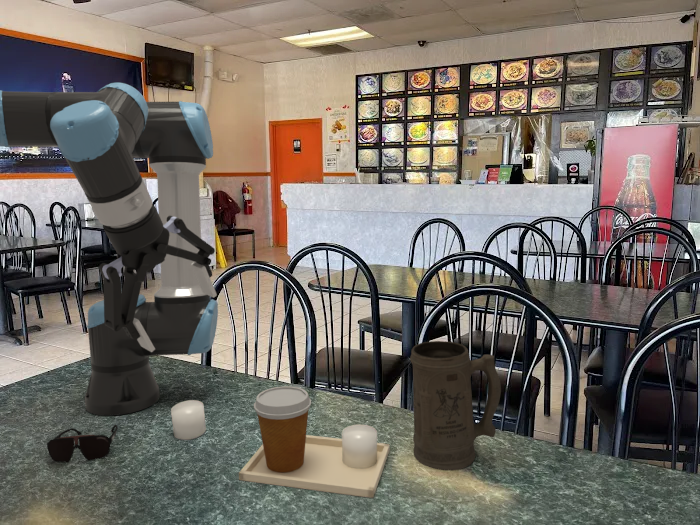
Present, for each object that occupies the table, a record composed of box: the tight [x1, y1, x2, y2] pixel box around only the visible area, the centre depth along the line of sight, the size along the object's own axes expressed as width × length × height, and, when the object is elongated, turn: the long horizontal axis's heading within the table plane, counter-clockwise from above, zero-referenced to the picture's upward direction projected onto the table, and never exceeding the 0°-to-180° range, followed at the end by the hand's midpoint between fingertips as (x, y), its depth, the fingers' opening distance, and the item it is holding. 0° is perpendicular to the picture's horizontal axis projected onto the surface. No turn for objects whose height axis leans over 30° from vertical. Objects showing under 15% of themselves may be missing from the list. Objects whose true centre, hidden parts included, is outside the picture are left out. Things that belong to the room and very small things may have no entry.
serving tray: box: [238, 434, 391, 499], centre depth 93 cm, size 15×22×2 cm
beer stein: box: [409, 340, 502, 471], centre depth 95 cm, size 15×11×20 cm
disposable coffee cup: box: [253, 386, 312, 473], centre depth 92 cm, size 10×10×12 cm
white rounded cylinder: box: [341, 424, 378, 469], centre depth 94 cm, size 6×6×5 cm
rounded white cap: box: [170, 399, 207, 441], centre depth 105 cm, size 6×6×5 cm
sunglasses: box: [46, 424, 119, 463], centre depth 100 cm, size 10×12×5 cm
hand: (180, 319), depth 90 cm, fingers open, 13 cm apart
